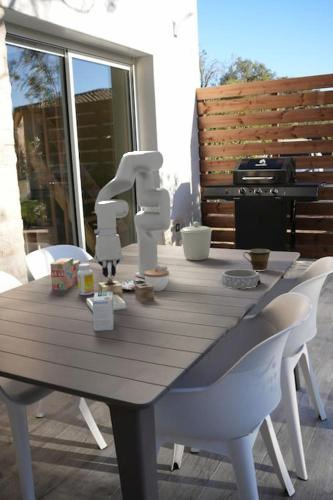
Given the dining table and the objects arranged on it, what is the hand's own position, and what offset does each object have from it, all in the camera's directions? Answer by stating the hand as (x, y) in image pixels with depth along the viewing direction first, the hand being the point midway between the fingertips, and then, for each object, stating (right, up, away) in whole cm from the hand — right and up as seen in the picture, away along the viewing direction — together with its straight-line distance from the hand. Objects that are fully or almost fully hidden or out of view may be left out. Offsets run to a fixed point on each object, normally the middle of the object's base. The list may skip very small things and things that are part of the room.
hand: (109, 275), depth 210 cm
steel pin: (0, -4, +1) cm, 4 cm away
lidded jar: (+20, -7, +13) cm, 24 cm away
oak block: (0, -9, +2) cm, 10 cm away
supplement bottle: (-11, -8, +9) cm, 17 cm away
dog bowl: (+57, -5, +18) cm, 60 cm away
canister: (+41, +5, +75) cm, 86 cm away
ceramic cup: (+69, 0, +43) cm, 81 cm away
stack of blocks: (-23, -6, +27) cm, 36 cm away
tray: (0, -12, -11) cm, 16 cm away
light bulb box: (+2, -16, -33) cm, 37 cm away
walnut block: (+15, -10, -2) cm, 18 cm away
